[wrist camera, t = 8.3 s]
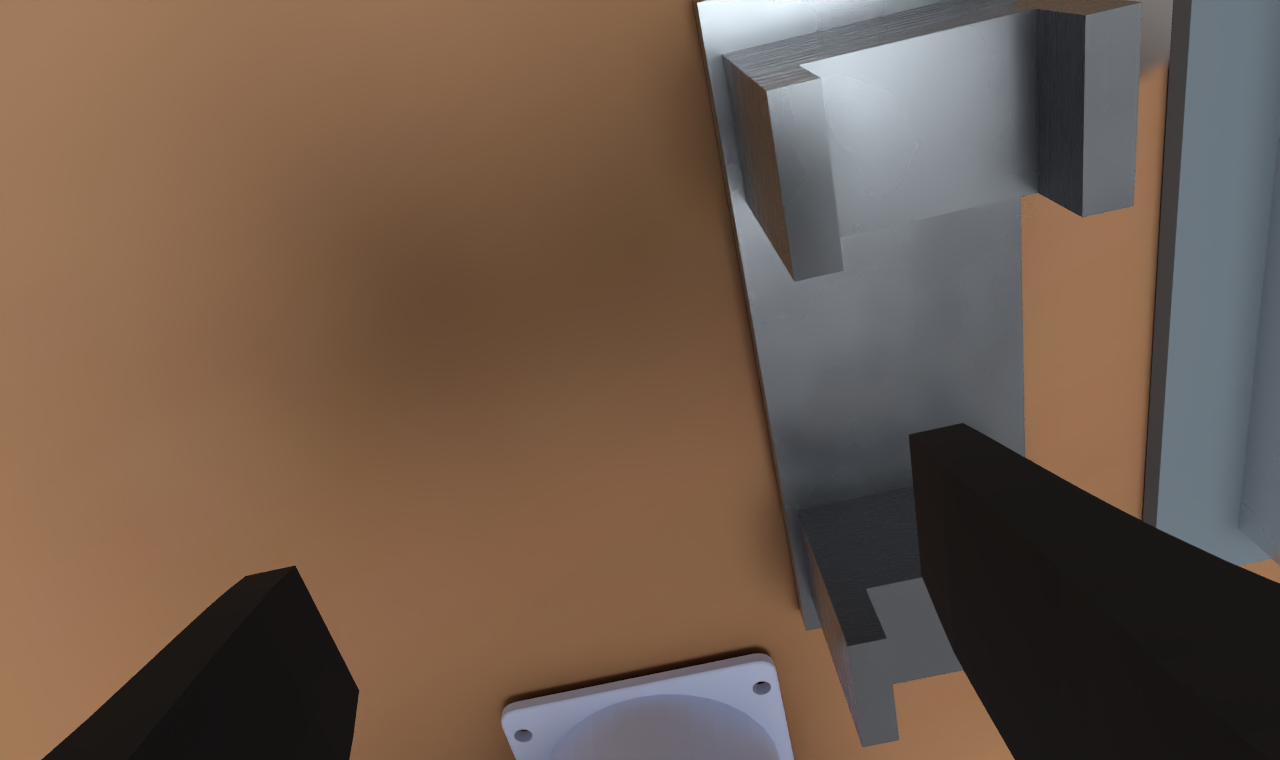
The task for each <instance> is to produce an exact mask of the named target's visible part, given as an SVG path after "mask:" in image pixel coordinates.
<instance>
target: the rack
mask: <svg viewBox="0 0 1280 760" xmlns="http://www.w3.org/2000/svg"><path fill="white" fill-rule="evenodd" d="M693 6H694V12H695V18H696V23H697V29H698V35H699V40H700V46H701V52H702V57H703V63H704V69H705V74H706V80H707V86H708V91H709V97H710V103H711V108H712V114H713V120H714V125H715V131H716V137H717V143H718V148H719V154H720V160H721V165H722V171H723V177H724V182H725V188H726V194H727V199H728V205H729V211H730V216H731V222H732V228H733V233H734V239H735V245H736V250H737V256H738V262H739V268H740V273H741V279H742V285H743V290H744V296H745V302H746V307H747V313H748V319H749V324H750V330H751V336H752V341H753V347H754V353H755V358H756V364H757V370H758V375H759V381H760V387H761V393H762V398H763V404H764V410H765V415H766V421H767V427H768V432H769V438H770V444H771V449H772V455H773V461H774V466H775V472H776V478H777V483H778V489H779V495H780V500H781V506H782V512H783V518H784V523H785V529H786V535H787V540H788V546H789V552H790V557H791V563H792V569H793V574H794V580H795V586H796V591H797V597H798V603H799V608H800V612H801V616H802V619H803V622H804V625H805V628H806V631H807V630H812V629H817V628H822V630H823V633H824V636H825V639H826V642H827V644H828V647H829V650H830V653H831V656H832V659H833V662H834V665H835V668H836V671H837V674H838V677H839V680H840V683H841V686H842V688H843V691H844V694H845V697H846V700H847V703H848V706H849V709H850V712H851V715H852V718H853V721H854V724H855V727H856V730H857V732H858V735H859V738H860V741H861V744H862V747H866V746H871V745H876V744H881V743H886V742H892V741H897V740H899V736H898V727H897V719H896V710H895V702H894V693H893V685H892V684H896V683H901V682H906V681H911V680H916V679H921V678H926V677H931V676H936V675H941V674H946V673H951V672H956V671H961V670H963V668H962V666H961V665H960V663H959V661H958V659H957V657H956V656H955V654H954V652H953V649H952V647H951V645H950V643H949V640H948V638H947V636H946V633H945V631H944V629H943V626H942V624H941V622H940V619H939V617H938V615H937V612H936V610H935V607H934V605H933V603H932V600H931V598H930V595H929V593H928V590H927V588H926V586H925V583H924V581H923V578H922V576H921V567H920V556H919V545H918V534H917V523H916V512H915V500H914V489H913V478H912V467H911V456H910V445H909V434H913V433H918V432H922V431H927V430H932V429H936V428H941V427H946V426H950V425H955V424H960V423H964V424H966V425H968V426H970V427H972V428H974V429H976V430H977V431H979V432H981V433H983V434H985V435H986V436H988V437H990V438H992V439H993V440H995V441H997V442H999V443H1000V444H1002V445H1004V446H1006V447H1007V448H1009V449H1011V450H1013V451H1014V452H1016V453H1018V454H1020V455H1021V456H1023V457H1025V431H1024V374H1023V318H1022V261H1021V204H1020V197H1022V196H1026V195H1031V194H1035V193H1039V194H1041V195H1043V196H1045V197H1047V198H1048V199H1050V200H1052V201H1054V202H1056V203H1058V204H1059V205H1061V206H1063V207H1065V208H1067V209H1068V210H1070V211H1072V212H1074V213H1076V214H1078V215H1079V216H1081V217H1086V216H1090V215H1094V214H1099V213H1103V212H1108V211H1112V210H1117V209H1121V208H1126V207H1130V206H1134V183H1135V160H1136V137H1137V114H1138V91H1139V68H1140V44H1141V21H1142V2H1136V1H1126V0H693Z"/></svg>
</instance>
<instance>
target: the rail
mask: <svg viewBox="0 0 1280 760" xmlns="http://www.w3.org/2000/svg"><path fill="white" fill-rule="evenodd" d="M1238 529H1240V530H1241V531H1242V532H1243V533H1244V534H1245V535H1246V536H1247V537H1248V538H1250V539H1251V540H1252V541H1253V542H1254V543H1255V544H1256V545H1257V546H1259V547H1260V548H1261V549H1262V550H1263V551H1264V552H1265V553H1266V554H1267V555H1269V556H1270V557H1271V558H1272V559H1273V560H1274V561H1275V562H1276V563H1277V564H1279V565H1280V123H1279V133H1278V142H1277V152H1276V162H1275V172H1274V181H1273V191H1272V201H1271V211H1270V220H1269V230H1268V240H1267V249H1266V259H1265V269H1264V279H1263V288H1262V298H1261V308H1260V318H1259V327H1258V337H1257V347H1256V357H1255V366H1254V376H1253V386H1252V396H1251V405H1250V415H1249V425H1248V435H1247V444H1246V454H1245V464H1244V473H1243V483H1242V493H1241V503H1240V512H1239V522H1238Z"/></svg>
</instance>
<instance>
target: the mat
mask: <svg viewBox="0 0 1280 760" xmlns="http://www.w3.org/2000/svg"><path fill="white" fill-rule="evenodd" d="M1172 16H1173V17H1172V32H1171V49H1170V66H1169V83H1168V100H1167V117H1166V134H1165V151H1164V168H1163V185H1162V202H1161V219H1160V236H1159V253H1158V270H1157V287H1156V304H1155V321H1154V338H1153V355H1152V373H1151V390H1150V407H1149V424H1148V441H1147V458H1146V475H1145V492H1144V509H1143V522H1145V523H1147V524H1149V525H1151V526H1153V527H1155V528H1157V529H1159V530H1161V531H1163V532H1166V533H1168V534H1170V535H1172V536H1174V537H1176V538H1178V539H1181V540H1183V541H1185V542H1187V543H1189V544H1191V545H1193V546H1196V547H1198V548H1200V549H1202V550H1204V551H1206V552H1208V553H1210V554H1213V555H1215V556H1217V557H1219V558H1221V559H1223V560H1225V561H1228V562H1230V563H1232V564H1234V565H1237V566H1238V565H1243V564H1248V563H1253V562H1258V561H1263V560H1268V559H1272V558H1271V557H1270V556H1269V555H1267V554H1266V553H1265V552H1264V551H1263V550H1262V549H1261V548H1260V547H1259V546H1257V545H1256V544H1255V543H1254V542H1253V541H1252V540H1251V539H1250V538H1248V537H1247V536H1246V535H1245V534H1244V533H1243V532H1242V531H1241V530H1240V529H1238V522H1239V512H1240V503H1241V493H1242V483H1243V473H1244V464H1245V454H1246V444H1247V435H1248V425H1249V415H1250V405H1251V396H1252V386H1253V376H1254V366H1255V357H1256V347H1257V337H1258V327H1259V318H1260V308H1261V298H1262V288H1263V279H1264V269H1265V259H1266V249H1267V240H1268V230H1269V220H1270V211H1271V201H1272V191H1273V181H1274V172H1275V162H1276V152H1277V142H1278V133H1279V123H1280V0H1173V15H1172Z"/></svg>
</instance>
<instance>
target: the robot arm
mask: <svg viewBox="0 0 1280 760" xmlns="http://www.w3.org/2000/svg"><path fill="white" fill-rule="evenodd" d="M909 445H910V456H911V467H912V478H913V489H914V500H915V512H916V523H917V534H918V545H919V556H920V567H921V576H922V578H923V581H924V583H925V586H926V588H927V590H928V593H929V595H930V598H931V600H932V603H933V605H934V607H935V610H936V612H937V615H938V617H939V619H940V622H941V624H942V626H943V629H944V631H945V633H946V636H947V638H948V640H949V643H950V645H951V647H952V649H953V652H954V654H955V656H956V657H957V659H958V661H959V663H960V665H961V666H962V668H963V670H964V672H965V673H966V675H967V677H968V679H969V680H970V682H971V684H972V686H973V687H974V689H975V691H976V693H977V694H978V696H979V698H980V700H981V702H982V703H983V705H984V707H985V709H986V710H987V712H988V714H989V716H990V717H991V719H992V721H993V722H994V724H995V726H996V728H997V729H998V731H999V733H1000V735H1001V736H1002V738H1003V740H1004V741H1005V743H1006V745H1007V747H1008V748H1009V750H1010V752H1011V754H1012V755H1013V757H1014V759H1015V760H1280V583H1277V582H1275V581H1272V580H1269V579H1267V578H1265V577H1262V576H1260V575H1258V574H1255V573H1253V572H1251V571H1248V570H1246V569H1244V568H1241V567H1239V566H1237V565H1234V564H1232V563H1230V562H1228V561H1225V560H1223V559H1221V558H1219V557H1217V556H1215V555H1213V554H1210V553H1208V552H1206V551H1204V550H1202V549H1200V548H1198V547H1196V546H1193V545H1191V544H1189V543H1187V542H1185V541H1183V540H1181V539H1178V538H1176V537H1174V536H1172V535H1170V534H1168V533H1166V532H1163V531H1161V530H1159V529H1157V528H1155V527H1153V526H1151V525H1149V524H1147V523H1145V522H1143V521H1141V520H1139V519H1137V518H1135V517H1133V516H1131V515H1129V514H1127V513H1126V512H1124V511H1122V510H1120V509H1118V508H1116V507H1114V506H1112V505H1110V504H1108V503H1106V502H1104V501H1103V500H1101V499H1099V498H1097V497H1095V496H1093V495H1091V494H1090V493H1088V492H1086V491H1084V490H1082V489H1080V488H1078V487H1077V486H1075V485H1073V484H1071V483H1069V482H1068V481H1066V480H1064V479H1062V478H1060V477H1058V476H1057V475H1055V474H1053V473H1051V472H1050V471H1048V470H1046V469H1044V468H1043V467H1041V466H1039V465H1037V464H1035V463H1034V462H1032V461H1030V460H1028V459H1027V458H1025V457H1023V456H1021V455H1020V454H1018V453H1016V452H1014V451H1013V450H1011V449H1009V448H1007V447H1006V446H1004V445H1002V444H1000V443H999V442H997V441H995V440H993V439H992V438H990V437H988V436H986V435H985V434H983V433H981V432H979V431H977V430H976V429H974V428H972V427H970V426H968V425H966V424H964V423H960V424H955V425H950V426H946V427H941V428H936V429H932V430H927V431H922V432H918V433H913V434H909ZM760 681H765V683H762V684H756V683H758V682H760ZM358 695H359V689H358V687H357V685H356V683H355V682H354V680H353V678H352V676H351V674H350V672H349V670H348V668H347V666H346V664H345V662H344V660H343V658H342V656H341V654H340V652H339V650H338V648H337V646H336V644H335V642H334V640H333V638H332V636H331V635H330V633H329V631H328V629H327V627H326V625H325V623H324V621H323V619H322V617H321V615H320V613H319V611H318V609H317V607H316V605H315V603H314V601H313V599H312V597H311V595H310V593H309V591H308V589H307V588H306V586H305V584H304V582H303V580H302V578H301V576H300V574H299V572H298V570H297V568H296V566H291V567H286V568H282V569H277V570H272V571H268V572H263V573H258V574H254V575H249V576H245V577H244V578H243V579H242V580H240V581H239V582H238V583H236V584H235V585H234V586H233V587H231V588H230V589H229V590H228V591H226V592H225V593H224V594H223V595H222V596H220V597H219V598H218V599H217V600H216V601H215V602H214V603H212V604H211V605H210V606H209V607H208V608H207V609H206V610H205V611H204V612H202V613H201V614H200V615H199V616H198V617H197V618H196V619H195V620H194V621H192V622H191V623H190V624H189V625H188V626H187V627H186V628H185V629H184V630H183V631H182V632H181V633H180V634H178V635H177V636H176V637H175V638H174V639H173V640H172V641H171V642H170V643H169V644H168V645H167V646H166V647H165V648H163V649H162V650H161V651H160V652H159V653H158V654H157V655H156V656H155V657H154V658H153V659H152V660H151V661H150V662H148V663H147V664H146V665H145V666H144V667H143V668H142V669H141V670H140V671H139V672H138V673H137V674H136V675H135V676H133V677H132V678H131V679H130V680H129V681H128V682H127V683H126V684H125V685H124V686H123V687H122V688H121V689H119V690H118V691H117V692H116V693H115V694H114V695H113V696H112V697H111V698H110V699H109V700H108V701H107V702H106V703H104V704H103V705H102V706H101V707H100V708H99V709H98V710H97V711H96V712H95V713H94V714H93V715H92V716H90V717H89V718H88V719H87V720H86V721H85V722H84V723H83V724H82V725H80V726H79V727H78V728H77V729H76V730H75V731H74V732H72V733H71V734H70V735H69V736H68V737H67V738H66V739H64V740H63V741H62V742H61V743H60V744H59V745H58V746H57V747H55V748H54V749H53V750H52V751H51V752H50V753H49V754H47V755H46V756H45V757H44V758H43V759H42V760H349V758H350V752H351V746H352V740H353V734H354V726H355V718H356V710H357V703H358ZM501 724H502V728H503V730H504V733H505V735H506V737H507V740H508V742H509V745H510V747H511V749H512V752H513V754H514V757H515V759H516V760H794V757H793V752H792V747H791V742H790V737H789V732H788V727H787V722H786V717H785V712H784V707H783V702H782V697H781V692H780V687H779V682H778V677H777V672H776V668H775V664H774V662H773V660H772V658H771V657H769V656H768V655H766V654H762V653H756V654H750V655H745V656H740V657H735V658H730V659H725V660H720V661H715V662H710V663H705V664H700V665H696V666H691V667H686V668H681V669H676V670H671V671H666V672H661V673H656V674H651V675H646V676H641V677H636V678H631V679H626V680H622V681H617V682H612V683H607V684H602V685H597V686H592V687H587V688H582V689H577V690H572V691H567V692H562V693H557V694H552V695H548V696H543V697H538V698H533V699H528V700H523V701H518V702H514V703H511V704H508V705H507V706H506V707H505V708H504V710H503V712H502V718H501ZM522 729H526V730H528V731H520V730H522Z"/></svg>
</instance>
